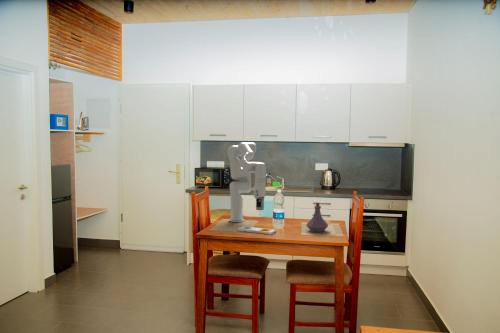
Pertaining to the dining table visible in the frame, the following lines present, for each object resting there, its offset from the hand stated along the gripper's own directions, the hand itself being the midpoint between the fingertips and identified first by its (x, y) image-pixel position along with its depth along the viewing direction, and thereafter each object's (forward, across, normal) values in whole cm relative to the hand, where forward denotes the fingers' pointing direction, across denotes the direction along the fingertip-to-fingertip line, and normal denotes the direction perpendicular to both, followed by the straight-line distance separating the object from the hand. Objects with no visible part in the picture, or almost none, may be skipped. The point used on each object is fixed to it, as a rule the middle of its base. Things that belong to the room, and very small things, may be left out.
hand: (260, 206), depth 276 cm
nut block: (+2, 0, 0) cm, 2 cm away
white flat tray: (+18, 0, -3) cm, 18 cm away
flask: (+18, -24, +34) cm, 45 cm away
